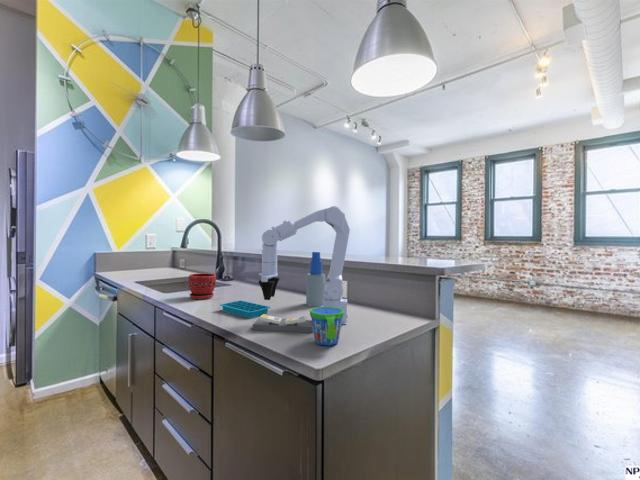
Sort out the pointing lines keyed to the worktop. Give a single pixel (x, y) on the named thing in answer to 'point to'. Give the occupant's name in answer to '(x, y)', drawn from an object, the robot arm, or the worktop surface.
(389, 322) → the worktop surface
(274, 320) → the outlet rocker
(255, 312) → the ice cube tray
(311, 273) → the spray bottle
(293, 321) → the rocker switch
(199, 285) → the plant pot
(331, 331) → the snack cup
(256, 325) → the power strip
